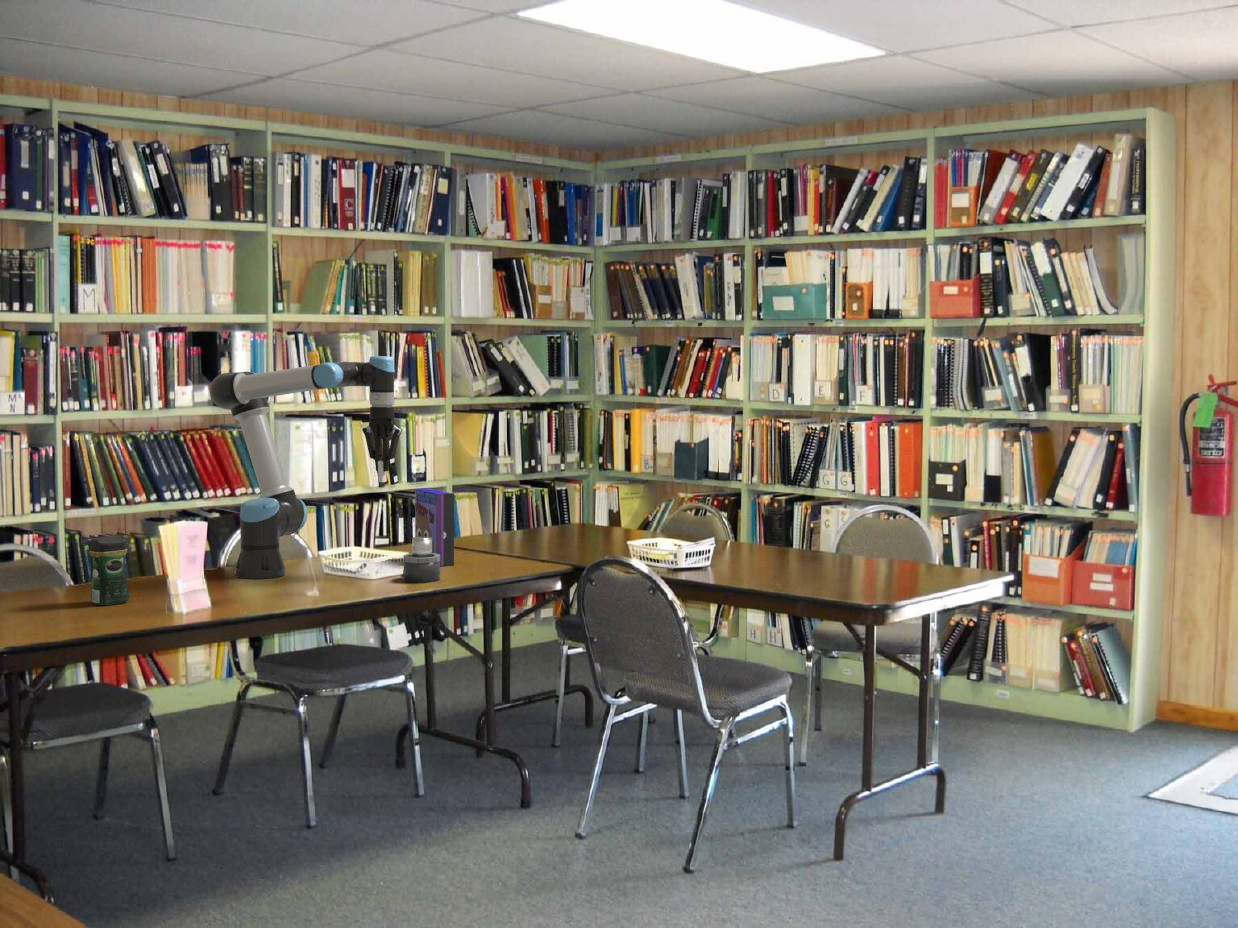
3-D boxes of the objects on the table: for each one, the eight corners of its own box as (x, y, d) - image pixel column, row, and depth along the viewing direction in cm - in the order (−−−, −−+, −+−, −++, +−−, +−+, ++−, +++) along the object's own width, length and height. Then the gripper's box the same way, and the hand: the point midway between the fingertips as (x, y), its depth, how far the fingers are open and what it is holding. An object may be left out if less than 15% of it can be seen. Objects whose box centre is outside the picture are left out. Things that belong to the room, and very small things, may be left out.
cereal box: (415, 559, 448) (415, 488, 446) (427, 558, 451) (427, 487, 449) (441, 567, 434) (441, 493, 432) (454, 565, 437) (454, 492, 435)
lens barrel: (397, 581, 408) (397, 557, 407) (413, 575, 418) (413, 551, 417) (430, 583, 404) (430, 559, 404) (445, 577, 415) (445, 553, 414)
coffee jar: (120, 598, 376) (119, 533, 374) (133, 602, 370) (131, 536, 368) (86, 602, 369) (84, 536, 367) (98, 607, 363) (96, 539, 362)
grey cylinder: (409, 561, 409) (408, 538, 408) (417, 558, 414) (417, 535, 414) (426, 562, 407) (426, 539, 406) (435, 559, 412) (435, 537, 412)
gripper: (357, 406, 412) (357, 481, 414) (395, 407, 408) (395, 483, 410) (369, 405, 419) (369, 479, 421) (406, 406, 415) (406, 481, 417)
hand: (382, 481), depth 416 cm, fingers closed
